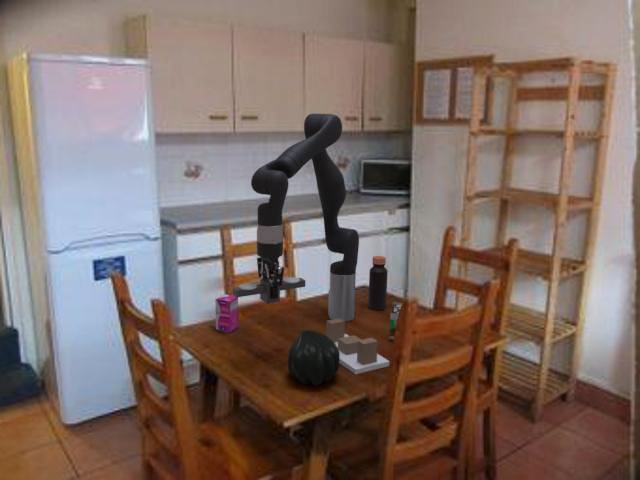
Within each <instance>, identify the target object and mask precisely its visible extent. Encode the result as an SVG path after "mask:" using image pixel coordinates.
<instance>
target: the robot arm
mask: <svg viewBox="0 0 640 480" xmlns="http://www.w3.org/2000/svg"><path fill="white" fill-rule="evenodd" d="M303 131H304V132H303V133H304V137H305V139H302V140H301V141H299V142H297V143H294V144H292V145H291V146H289V147H288V148H286V149H284V151H283V152H282V153H281V154H280V155H279V156H278V157H277V158H275V159H273V160H272V161H270V162H268V163H266V164H264V165H263V166H260V167H259V168H258V169H257V170H256V171H254V173H253V175H252V177H251V182H250V183H251V184H250V185H251V189H252V190H253V191H254V192H255V193H257V194H260V195H267V196H269V200H268V201H267V202H263V203H260V204H259V205H258V207H257V228H256V255H257V256H258V257H257V258H256V261H257V262H256V264H257V265H256V266H257V274H258V278H260V279H266V278H268V279H269V280H270V286H271V287H270V298H271V299H277V298H278V286H282V282H283V279H284V274H285V273H284V272H285V268H284V266H281V265H280V263H279V262H280V261H279V258H280V257H282V256H283V255H284V230H283V209H284V204H285V201H286V197H287V195H288V189H289V180H290V179H291V178H293V177H294V176H296V174H297V173H298V172H299V171H300V170H302V168H303V167H304V166H305V165H306V164H307V163H308V162H309V161H310V160H311V161H312V165H313V171H314V175H315V180H316V187H317V192H318V195H319V201H320V205H321V211H322V216H323V217H322V218H323V225H324V229H323V230H324V236H325V237H324V239H325V244H326V247H327V250H328V251H330V252H331V253H334V254H341V255H343V258H342V260H337V261H335V262H334V261H333V262H332V263H331V264H330V267H329V272H330V273H329V290H328V303H327V304H328V305H327V306H328V307H327V315H328V319H329V320H334V319H339V318H340V319H342V320H343V321H345V322H350V321H353V320H354V318H355V304H356V301H355V299H356V278H357V277H356V273H357V272H356V271H357V266H358V259H359V247H360V236H359V233H358V231H357V230H356V229H354V228H353V229H352V228H347V227H341V226H340V225H339V221H338V218H339V217H338V216H339V212H340V211H341V208H342V206H343V204H344V203H345V200H346V197H347V188H346V183H345V182H346V181H345V178H344V175H343V173H342V172H341V170H340V169H339V167H338V166H337V165H336V163H335V162H334V160H332V158H331V157H330V155H329V153H328V151H327V149H328V148H329V147H330V146H332V145H334V144H336V143H337V141H339V139H340V138H341V135H342V132H343V124H342V120H341V118H340V117H339V116H338V115H336V114H333V113H310V114H307V116H306V117H305V120H304V123H303Z"/></svg>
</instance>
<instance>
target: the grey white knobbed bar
mask: <svg viewBox="0 0 640 480" xmlns="http://www.w3.org/2000/svg"><path fill="white" fill-rule="evenodd" d="M259 281H260V282H259V283H257V284H255V283H250V282H249V283H241V284H239V285H238V286H236V287H232V296H235V297H238V298H241V297H242V298H243V297H249V296H255V295H260V296H259V298H260V300H262V301H263V302H264V303H265V304H267V305H268V304H274V303H278V302H279V303H281V298H280V297H281V295H280V294H281V291H287V290H294V289H298V288H299V289H301V288H306V280H305V279H303V278H302V277H296V276H295V277H294V276H288V277H287V276H286V277H283V282H282V286H278V298H277V299H271V298H270V287H271V286H270V280H269V279H268V278H266V279H261V278H260V280H259Z"/></svg>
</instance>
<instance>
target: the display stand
mask: <svg viewBox="0 0 640 480" xmlns="http://www.w3.org/2000/svg"><path fill="white" fill-rule="evenodd" d="M325 322H326V327H325V328H326V329H325V336H327V337H329V338H330V339H332V340H333V342H334V343H335V344H336V346H337V348H338V350H339V353H340V359H339V365H342V366H343V367H344V368H346V370H348V371H350V372H351V373H352V374H354V375H359V374H362V373H366V372H371V371H375V370H378V369H382V368H388V367H390V360H388V359H387V358H385V357H384V356H382V355H380V354H379V353H378V346H379V345H378V340H377V339H376V338H373V337H368V338H363V339H361V338H360V337H358V336H357V335H354V334H353V335H348V334H347V333H345V327H346V326H345V325H346V324H345V322H346V321H343V320H342V319H340V318H339V319H334V320H332V319H329V320H328V319H327V320H326V321H325Z"/></svg>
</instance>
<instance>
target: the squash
mask: <svg viewBox="0 0 640 480" xmlns="http://www.w3.org/2000/svg"><path fill="white" fill-rule="evenodd" d="M339 359H340V353H339V350H338V348H337V346H336V344H335V343H334V342H333V340H332V339H330V338H329V337H327V336H326V334H323V333H320V332H317V331H314V330H307V329H303V331H301V333H300V334H299V336H298V337H297V338H296V339H295V341H294V342H293V343H292V344H291V346H290V348H289V350H288V356H287V360H286V361H287V369H288V372H289V374H290V376H292V377H293V378H294V379H296V380H298V381H300V383H302V384H304V385H310V384H312V385H314V386H320V385H321V384H322V383H323V382H324V381H325V382H328V381H331V380H332V379H333V377H334V376H335V375H336V374H337V373H338V371H339V368H340V363H339Z"/></svg>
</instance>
